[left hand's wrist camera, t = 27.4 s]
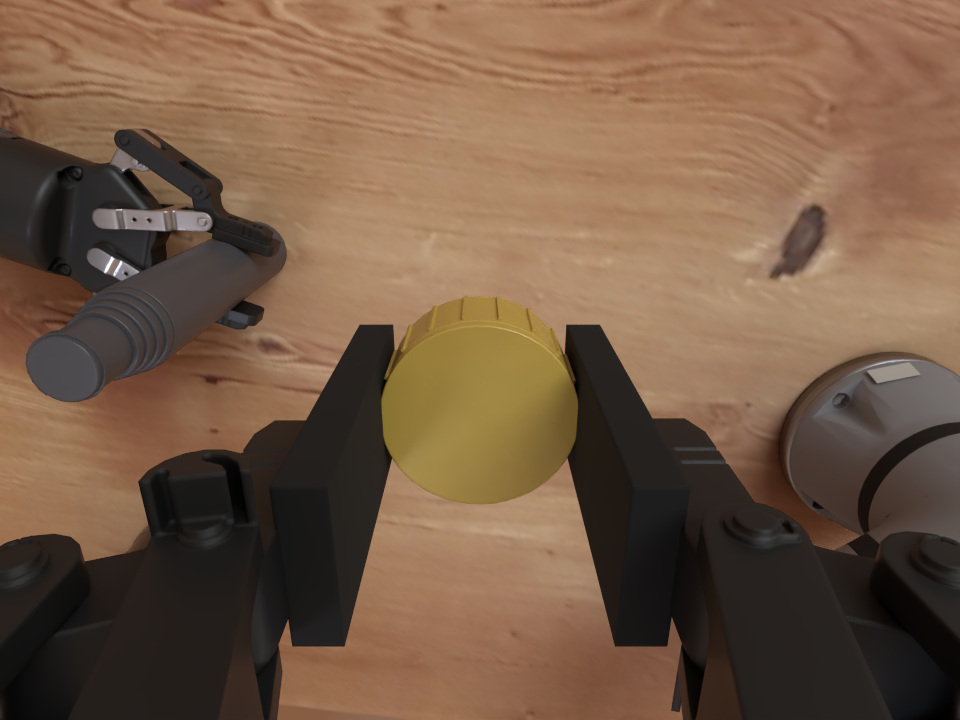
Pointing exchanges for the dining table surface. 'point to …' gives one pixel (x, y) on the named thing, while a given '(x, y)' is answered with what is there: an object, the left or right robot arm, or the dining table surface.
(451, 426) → the cap
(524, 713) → the dining table surface
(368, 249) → the dining table surface
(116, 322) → the bottle
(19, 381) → the dining table surface
